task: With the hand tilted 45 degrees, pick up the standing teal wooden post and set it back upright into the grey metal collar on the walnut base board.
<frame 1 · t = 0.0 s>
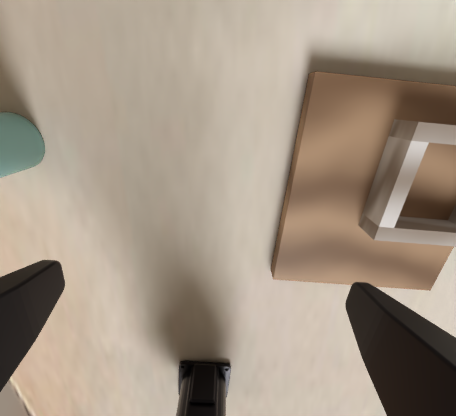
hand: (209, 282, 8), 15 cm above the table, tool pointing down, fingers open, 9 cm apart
base board: (373, 195, 22), on the table
post: (16, 141, 20), on the table
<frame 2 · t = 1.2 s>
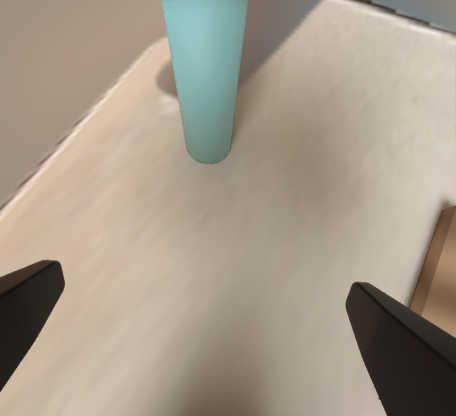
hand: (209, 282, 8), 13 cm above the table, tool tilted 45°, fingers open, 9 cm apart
post: (208, 144, 25), on the table
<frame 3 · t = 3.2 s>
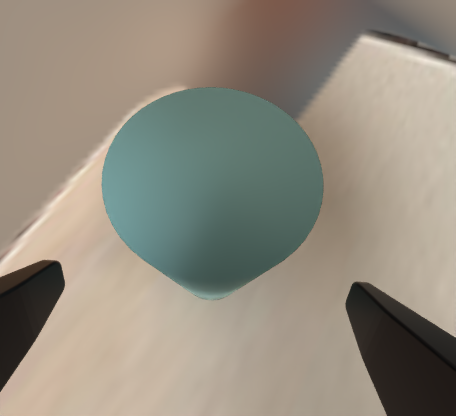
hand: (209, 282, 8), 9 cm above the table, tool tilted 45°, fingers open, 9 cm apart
post: (212, 265, 17), on the table
when the fingers open (9 cm above the table, at t = 10.1 s): post drops 1 cm, resting on base board.
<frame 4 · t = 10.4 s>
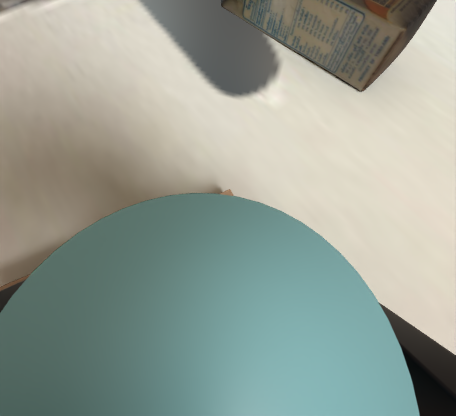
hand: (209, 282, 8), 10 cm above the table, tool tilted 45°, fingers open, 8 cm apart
post: (208, 317, 15), point 2 cm above the table, touching base board
beverage carton: (304, 35, 27), on the table
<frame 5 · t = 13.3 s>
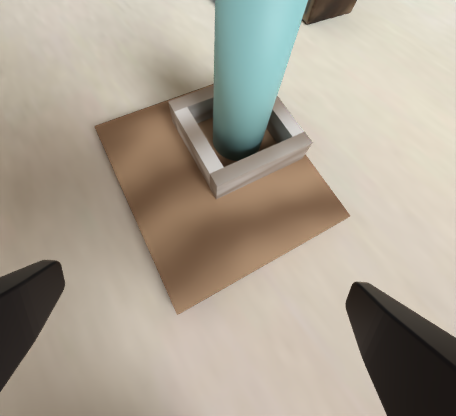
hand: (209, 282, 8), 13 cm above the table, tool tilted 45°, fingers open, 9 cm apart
base board: (217, 177, 23), on the table
post: (236, 140, 23), point 2 cm above the table, touching base board
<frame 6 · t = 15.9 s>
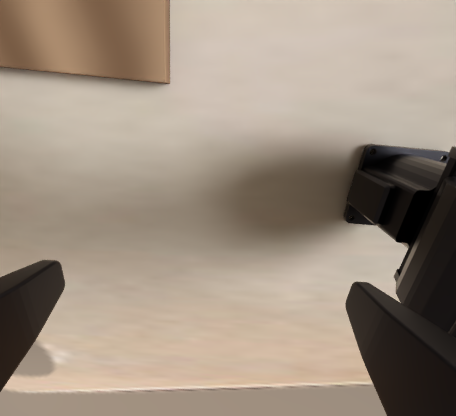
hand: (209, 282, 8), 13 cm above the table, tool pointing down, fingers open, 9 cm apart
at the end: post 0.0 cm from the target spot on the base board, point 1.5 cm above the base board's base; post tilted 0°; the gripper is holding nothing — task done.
